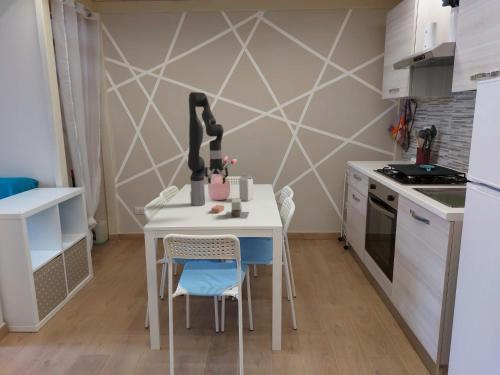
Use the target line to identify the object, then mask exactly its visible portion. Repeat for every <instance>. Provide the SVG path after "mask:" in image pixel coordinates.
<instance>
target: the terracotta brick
mask: <svg viewBox="0 0 500 375" xmlns="http://www.w3.org/2000/svg"><path fill="white" fill-rule="evenodd" d="M223 211H225V206H224V205H222V204H221V205H220V204H216V205H215V206H213V207H211V213H212V214H213V213H214V214H221V213H222V212H223Z"/></svg>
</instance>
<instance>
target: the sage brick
mask: <svg viewBox="0 0 500 375" xmlns="http://www.w3.org/2000/svg"><path fill="white" fill-rule="evenodd" d="M230 204H231V209H232V210H240V208H241V209H242V200H241V199H240V198H232V200H231V203H230Z"/></svg>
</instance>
